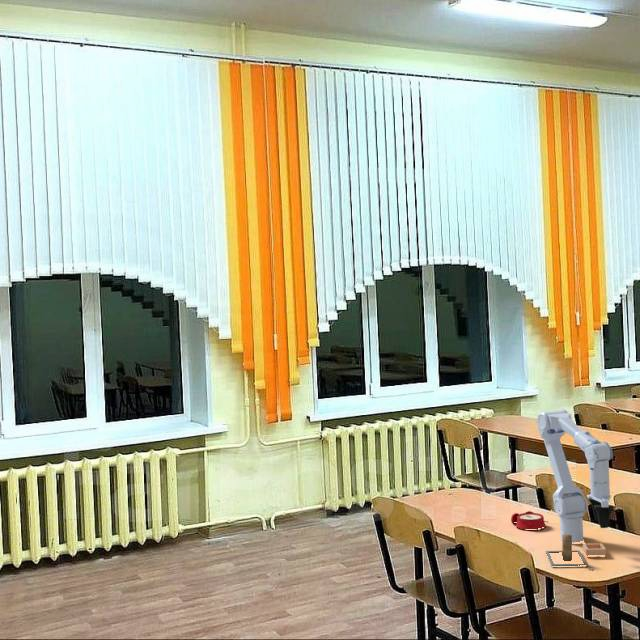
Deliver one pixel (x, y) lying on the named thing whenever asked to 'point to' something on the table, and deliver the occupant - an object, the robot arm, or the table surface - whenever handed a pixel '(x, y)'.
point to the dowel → (567, 547)
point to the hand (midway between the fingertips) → (601, 524)
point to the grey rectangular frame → (565, 564)
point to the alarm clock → (528, 520)
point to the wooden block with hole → (594, 549)
